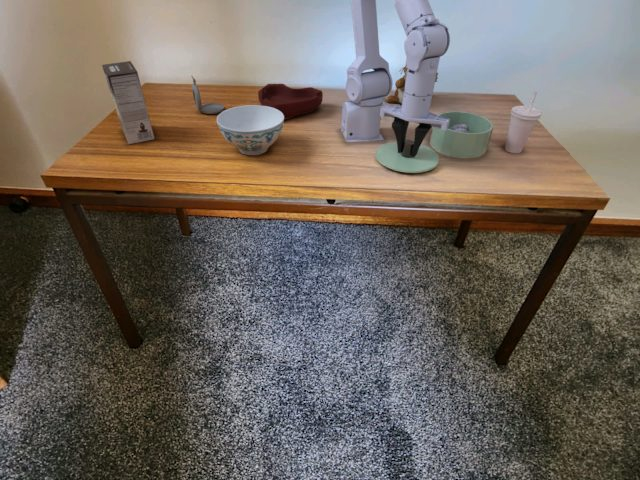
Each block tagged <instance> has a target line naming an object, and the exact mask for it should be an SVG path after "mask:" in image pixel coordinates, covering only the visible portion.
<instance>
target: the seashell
mask: <svg viewBox="0 0 640 480" xmlns="http://www.w3.org/2000/svg"><path fill="white" fill-rule="evenodd" d="M450 129H451V130H454V131H459V132H465V133H469V132H468V131H469V127H468V126H467V125H466V124H460V125H459V124H458V125H454V126H453V127H451V128H450Z"/></svg>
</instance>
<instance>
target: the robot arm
mask: <svg viewBox="0 0 640 480" xmlns="http://www.w3.org/2000/svg"><path fill="white" fill-rule="evenodd" d="M350 7H351V16H352V17H351V18H352V27H353V38H354V50H355V59H354V60H353V61H352V63H351V64H350V65H348V67H347V69H346V83H345V91H346V95H347V97H348V98H349V100H347V101H343V103H342V107H341V123H340V125H341V126H340V131H341V133H342V135H343V137H344V139H345V141H346V142H348V143H349V142H350V143H351V142H353V143H354V142H369V141H370V142H371V141H384V140H385V138H384V137H383V135H382V134H381V132H380V129H381V120H382V118H385V117H387V118H391V119H393V121H392V122H391V128H392V131H393V133H394V136H395V139H396V142H397V147H398V153H400V154H401V152H402V147H403V141H404V140H407V139H406V138H407V133H408V129H409V124H410V123H413V124H418V125H417V126H416V127H415V128H414V138H413V139H414V140H413V141H414V145H413V149H412V155H411V156H412V157H415V156H416V155H417V153H418V150H419V147H420V145H422V143H423V142H424V139H426V136H427V134H428V133H429V131H430V130H432V128H433V127H436V128H440V129H441V130H443V131H446V130H447V128H448V126H449V122H450V119H449V118H445V117H442V116H439V115H438V114H436V113H434V112H431V111H430V109H431V105H432V104H431V103H432V99H433V94H434V90H435V84H436V82H435V80H436V75H437V73H438V69H439V64H440V59H441V57H443V56H444V55H445V54H446V53H447V52H448V50H449V47H450V43H451V36H450V32H449V27H448V26H447V25H446V24H444V23H442V22H440V20H439V18H436V16H435V14H434V12H433V9H432V7H431V4H430V2H429V0H395V1H394V7H395V10H396V13H397V15H398V17H399V20H400V22H401V26H402V28H403V30H404V33H405V35H406V39H405V40H404V43H403V46H404V47H403V48H404V53H405V56H406V57H405V58H406V59H405V66H406V67H407V68H408V69H407V75H406V82H405V88H404V95H403V101H402V104H401V106H395V105H387V104H383V103H384V102H386V98H387V97H388V96H390V94H391V92H392V90H393V85H394V84H393V83H394V82H393V77H392V74H391V72H390V65H389V62H388V61H387V60H386V59H385V58H383V56H381V53H380V43H379V42H380V41H379V40H380V39H379V28H378V14H377V0H350ZM367 70H368V71H367ZM369 70H371V71H369Z"/></svg>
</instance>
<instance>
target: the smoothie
mask: <svg viewBox="0 0 640 480" xmlns="http://www.w3.org/2000/svg"><path fill="white" fill-rule="evenodd" d="M537 93H538V92H537V91H534V92H533V94H532V97H531V100H530V103H529V105H515V106H513V107H512V108H511V110H510V120H509V124H508V131H507V136H506V139H505V145H504V150H505V152H508V153H511V154H520V153H521V152H522V151H523V148H524V147H525V145H526V143H527V141H528V139H529V137H530V135H531V133H532V132H533V130H534V128H535V126H536V124H537V122H538V120H540V119H541V116H542V112H541V110H540V109H538V108H535V107H533V106H534V105H533V104H534V102H535V99H536V96H537Z"/></svg>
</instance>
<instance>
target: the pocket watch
mask: <svg viewBox="0 0 640 480" xmlns="http://www.w3.org/2000/svg"><path fill="white" fill-rule="evenodd" d="M191 78H192V83H193V84H192V85H191V91H192V96H193V101H194V106H195V107H196V109H197V111H200V112H201V113H202V114H206V115H215V114H220V113H221V112H223V111H225V110H224V109H225V106H224V105H223V104H221V103H217V102H211V103H210V102H209V103H205V104H202V98H201V94H200V89H199V87H198V85H197V83H196V82H197V81H196V79H195V77H194V76H193V75H191Z"/></svg>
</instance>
